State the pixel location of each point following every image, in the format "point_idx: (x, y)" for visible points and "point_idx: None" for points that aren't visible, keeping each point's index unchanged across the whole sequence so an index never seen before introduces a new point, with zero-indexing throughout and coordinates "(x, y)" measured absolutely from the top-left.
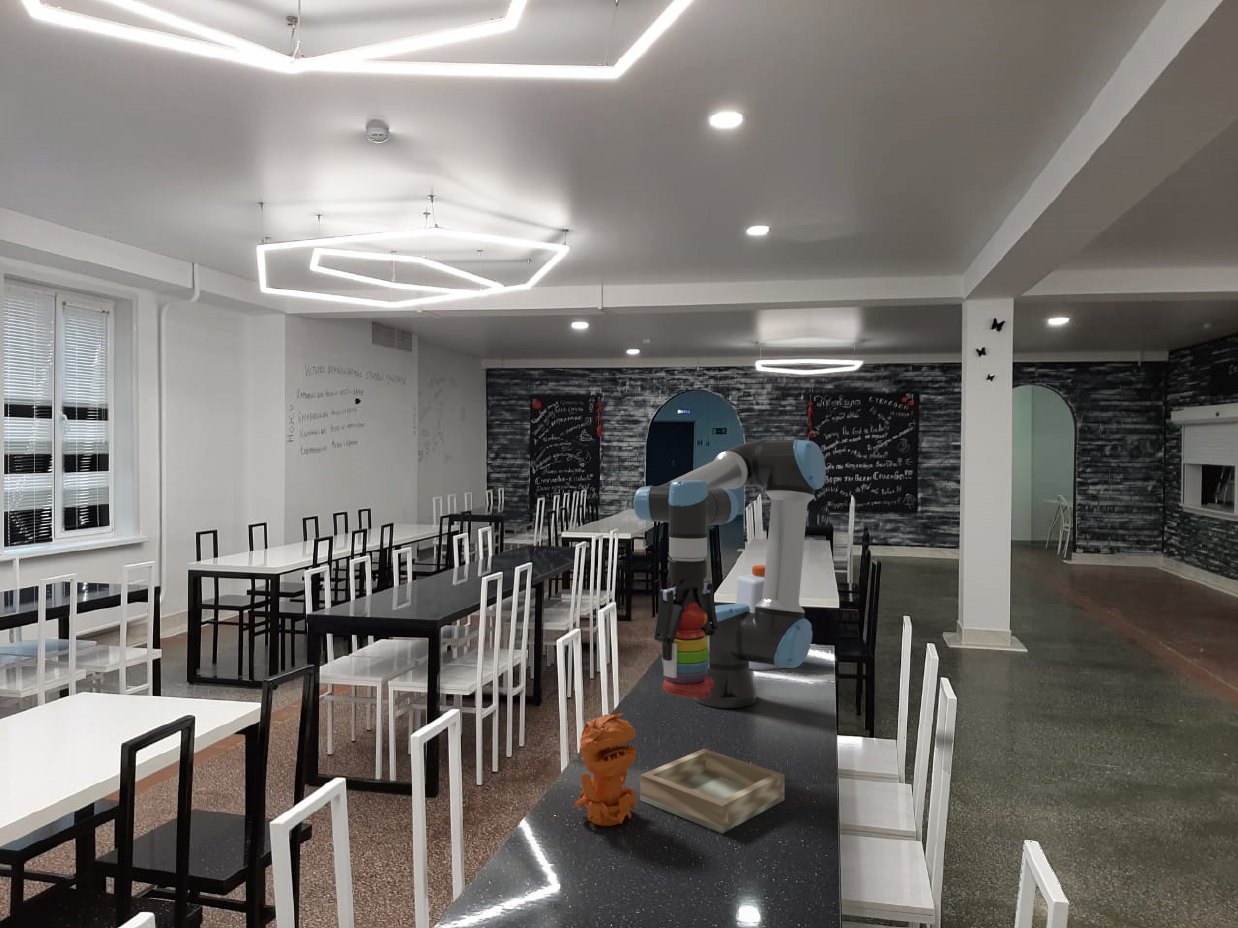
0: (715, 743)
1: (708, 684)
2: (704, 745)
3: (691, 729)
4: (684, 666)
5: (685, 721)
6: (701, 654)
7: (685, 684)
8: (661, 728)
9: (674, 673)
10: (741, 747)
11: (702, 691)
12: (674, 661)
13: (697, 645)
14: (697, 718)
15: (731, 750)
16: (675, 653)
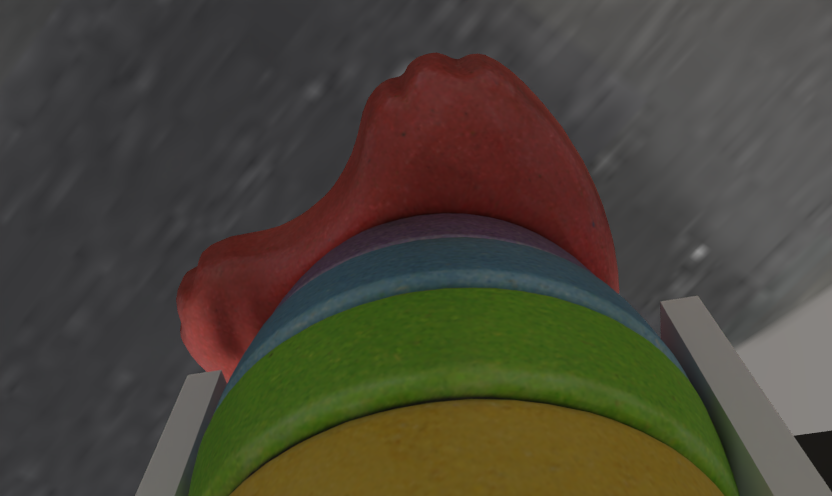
0: (183, 209)
1: (283, 239)
2: (241, 216)
3: (185, 370)
4: (642, 324)
5: (157, 439)
6: (458, 345)
7: (562, 241)
8: None
9: (707, 321)
10: (99, 109)
11: (497, 83)
12: (766, 401)
13: (528, 465)
14: (94, 441)
15: (165, 107)
16: (792, 475)
